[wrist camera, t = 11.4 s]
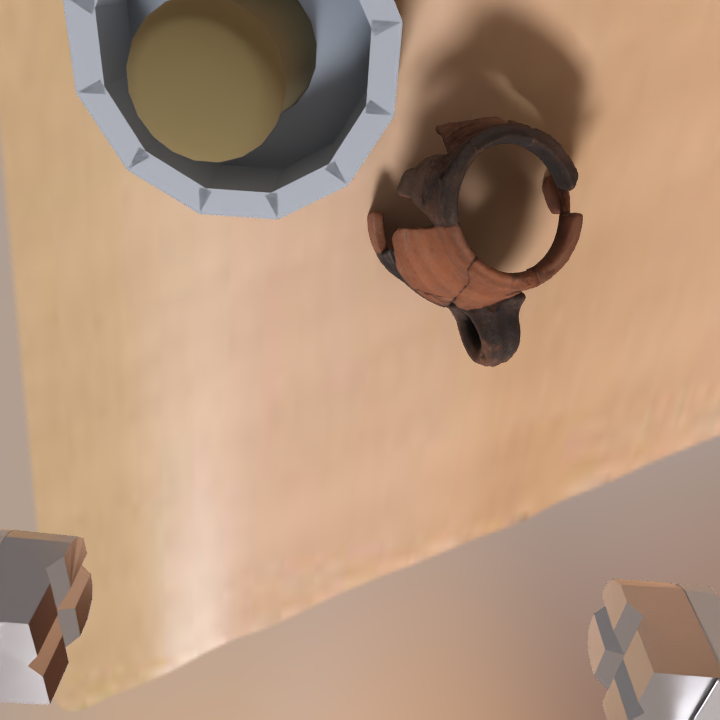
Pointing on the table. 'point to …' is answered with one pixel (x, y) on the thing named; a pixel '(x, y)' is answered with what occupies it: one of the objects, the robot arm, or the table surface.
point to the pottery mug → (450, 249)
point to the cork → (219, 73)
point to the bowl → (294, 127)
